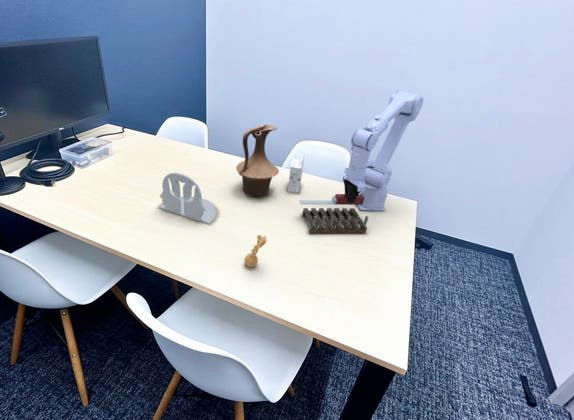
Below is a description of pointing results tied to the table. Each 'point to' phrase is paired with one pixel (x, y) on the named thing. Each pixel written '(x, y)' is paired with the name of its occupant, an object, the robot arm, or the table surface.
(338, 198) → the knife
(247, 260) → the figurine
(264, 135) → the pitcher
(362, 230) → the drying rack
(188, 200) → the ornament
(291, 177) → the ink cartridge box
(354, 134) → the robot arm
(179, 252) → the table surface
